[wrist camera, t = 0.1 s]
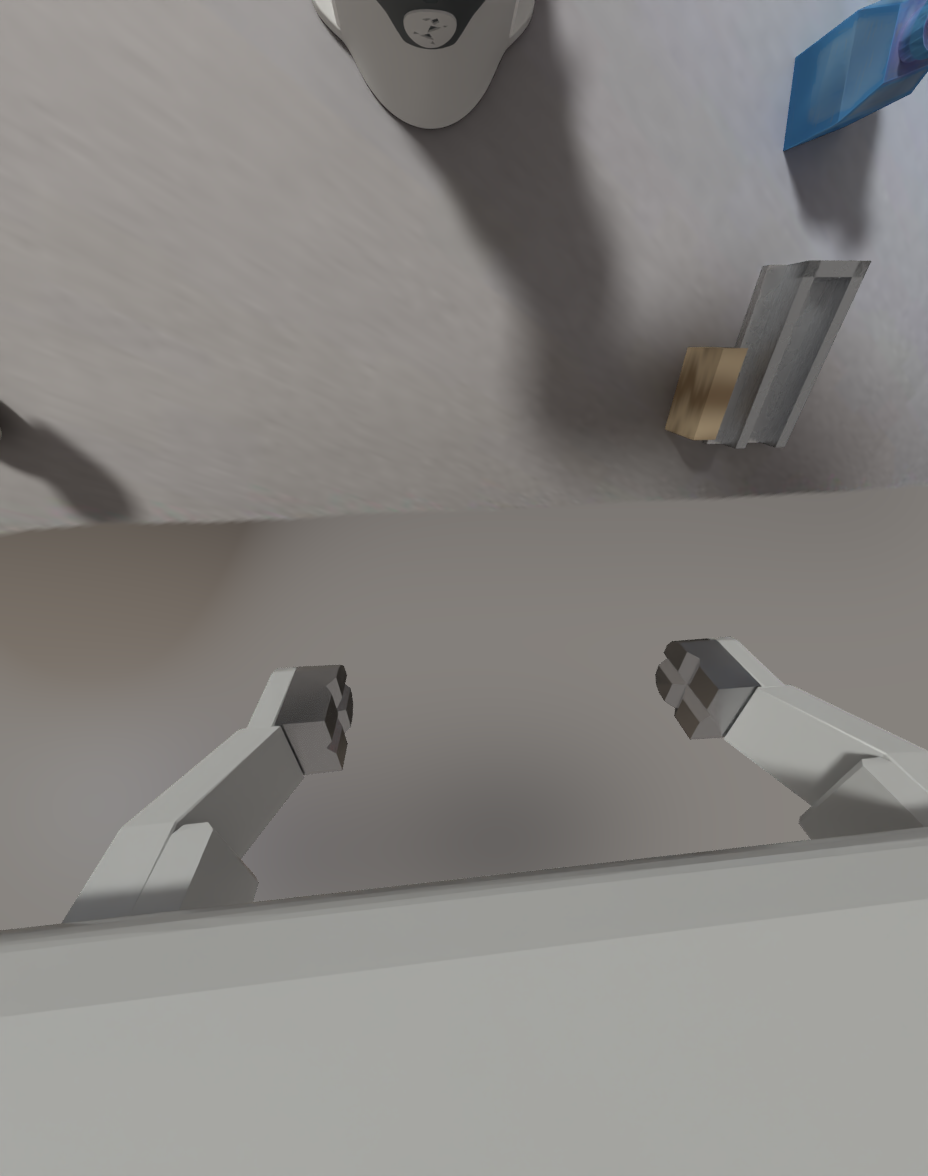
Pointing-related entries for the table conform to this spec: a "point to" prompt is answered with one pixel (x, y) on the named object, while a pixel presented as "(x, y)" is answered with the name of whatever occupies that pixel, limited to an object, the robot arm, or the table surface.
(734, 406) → the floor track
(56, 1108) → the robot arm
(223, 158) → the table surface
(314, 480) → the table surface
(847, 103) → the perfume bottle
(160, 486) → the table surface
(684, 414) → the tan wooden block
